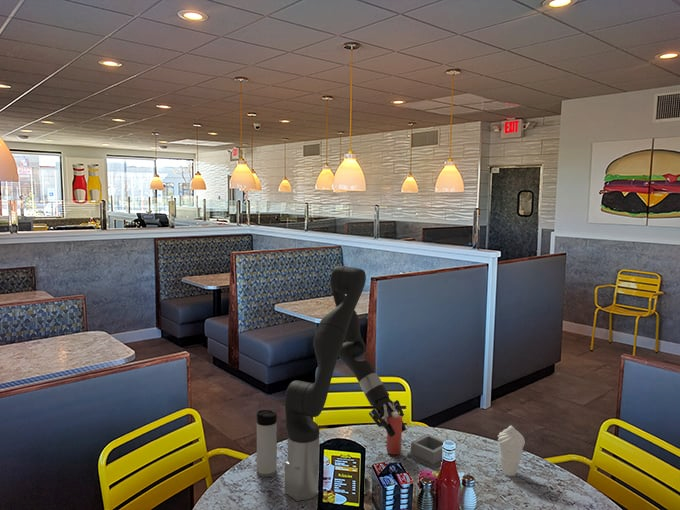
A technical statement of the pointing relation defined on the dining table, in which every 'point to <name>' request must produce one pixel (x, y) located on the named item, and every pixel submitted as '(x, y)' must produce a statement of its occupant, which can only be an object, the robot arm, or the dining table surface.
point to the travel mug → (266, 443)
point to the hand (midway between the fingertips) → (398, 432)
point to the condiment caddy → (427, 451)
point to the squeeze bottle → (395, 440)
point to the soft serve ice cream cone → (510, 450)
